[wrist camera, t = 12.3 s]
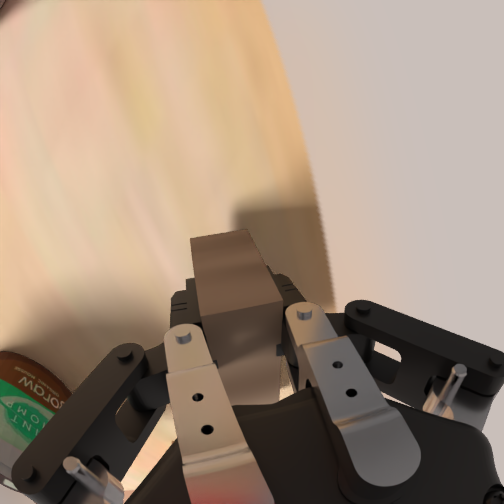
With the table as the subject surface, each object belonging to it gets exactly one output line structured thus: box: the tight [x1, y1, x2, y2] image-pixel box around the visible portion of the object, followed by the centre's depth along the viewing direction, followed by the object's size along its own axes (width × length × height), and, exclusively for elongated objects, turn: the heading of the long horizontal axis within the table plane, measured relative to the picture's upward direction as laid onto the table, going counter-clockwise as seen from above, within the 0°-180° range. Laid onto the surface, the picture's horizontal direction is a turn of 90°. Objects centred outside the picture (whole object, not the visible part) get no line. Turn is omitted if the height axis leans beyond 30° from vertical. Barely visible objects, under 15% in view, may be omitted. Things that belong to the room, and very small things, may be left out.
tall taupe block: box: [190, 229, 283, 406], centre depth 15 cm, size 14×5×5 cm, turn 5°
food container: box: [0, 351, 72, 493], centre depth 11 cm, size 12×6×10 cm, turn 48°
